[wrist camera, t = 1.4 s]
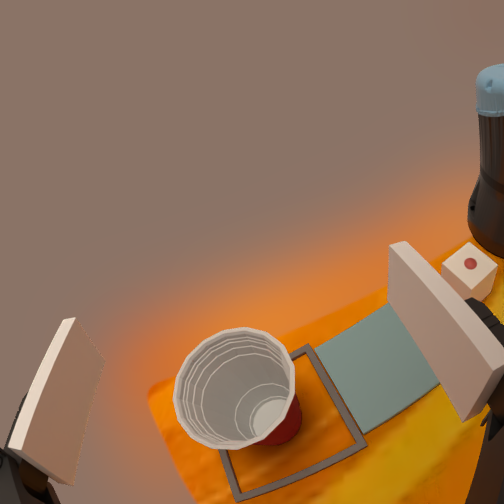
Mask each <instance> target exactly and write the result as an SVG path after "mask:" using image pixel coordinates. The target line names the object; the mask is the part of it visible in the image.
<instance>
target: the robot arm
mask: <svg viewBox="0 0 504 504" xmlns="http://www.w3.org/2000/svg"><path fill="white" fill-rule="evenodd" d="M476 96H477V103H476V111H477V112H478V117H479V131H480V175H479V177H478V180H477V182H476V185H475V188H474V190H473V193H472V195H471V198H470V200H469V205H468V225H469V228H470V230H471V233H472V235H473V236H474V238H475V239H476V240H477V241H478V242H479V243H480V244H481V245H482V246H483V247H484V248H485V249H487V250H488V251H490V252H492V253H493V254H495V255H497V256H500V257H502V258H504V64H498V65H494V66H490V67H488V68H486V69H484V70H483V71H481V72H480V73H479V74H478V76H477V78H476ZM387 300H388V302H389V303H390V305H391V306H392V308H393V309H394V311H395V312H396V314H397V315H398V317H399V318H400V320H401V321H402V323H403V324H404V326H405V327H406V329H407V330H408V332H409V333H410V335H411V336H412V338H413V340H414V341H415V343H416V344H417V346H418V347H419V349H420V351H421V352H422V354H423V355H424V357H425V359H426V360H427V362H428V363H429V365H430V367H431V368H432V370H433V372H434V373H435V375H436V377H437V378H438V380H439V382H440V383H441V385H442V387H443V389H444V390H445V392H446V394H447V395H448V397H449V399H450V401H451V402H452V404H453V406H454V408H455V410H456V411H457V413H458V415H459V417H460V419H461V421H462V422H465V421H467V420H468V419H470V418H472V417H474V416H475V415H477V414H479V413H480V412H481V411H482V410H483V408H484V407H485V405H486V403H488V405H489V407H490V408H491V409H490V411H489V412H488V414H487V415H486V416H485V418H484V419H483V421H482V423H481V425H480V426H484V424H485V423H486V422H487V425H486V430H485V435H484V439H483V444H482V448H481V452H480V456H479V460H478V464H477V467H476V471H475V474H474V478H473V481H472V484H471V487H470V490H469V493H468V496H467V499H466V502H465V504H504V325H503V324H502V323H501V324H500V321H499V320H498V319H497V317H496V316H493V313H492V312H491V311H490V310H489V309H488V307H487V306H486V305H485V304H484V303H482V302H480V301H478V300H476V299H475V298H473V297H471V298H469V299H466V300H463V299H462V298H461V297H460V296H459V295H458V293H457V292H456V291H455V290H454V289H453V288H452V287H451V286H450V285H449V284H448V283H447V282H446V281H445V280H444V279H443V278H442V277H441V275H440V274H439V273H438V272H437V271H436V270H435V269H434V268H433V267H432V266H431V265H430V264H429V263H428V262H427V261H426V260H425V259H423V257H422V256H421V255H420V254H419V253H417V251H416V250H415V249H413V248H412V247H411V246H410V245H409V244H408V243H407V242H406V241H403V242H399V243H395V244H392V245H389V273H388V295H387ZM104 363H105V360H104V358H103V357H102V356H101V354H100V353H99V351H98V350H97V349H96V347H95V346H94V344H93V343H92V341H91V340H90V338H89V337H88V335H87V334H86V332H85V331H84V329H83V328H82V326H81V324H80V323H79V321H78V320H77V318H76V317H75V318H70V319H64V320H63V321H62V323H61V325H60V327H59V329H58V331H57V333H56V335H55V337H54V339H53V341H52V343H51V345H50V347H49V349H48V351H47V353H46V355H45V357H44V359H43V361H42V363H41V365H40V367H39V369H38V372H37V374H36V376H35V378H34V381H33V383H32V385H31V387H30V390H29V391H28V392H27V394H26V395H25V396H24V398H23V399H22V402H21V404H20V407H19V411H18V412H17V414H16V419H14V422H13V425H12V427H11V430H10V433H9V436H8V438H7V442H6V444H5V447H4V449H1V448H0V504H61V503H60V501H59V499H58V497H57V495H56V493H55V490H54V488H53V486H52V485H51V484H50V483H49V482H47V481H48V477H50V478H52V479H53V480H55V481H56V482H58V483H61V484H65V485H70V486H73V484H74V480H75V475H76V470H77V465H78V460H79V456H80V451H81V446H82V442H83V438H84V434H85V430H86V426H87V422H88V418H89V414H90V411H91V407H92V404H93V400H94V396H95V393H96V389H97V386H98V383H99V379H100V376H101V373H102V370H103V367H104Z"/></svg>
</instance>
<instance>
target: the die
mask: <svg viewBox="0 0 504 504" xmlns="http://www.w3.org/2000/svg"><path fill="white" fill-rule="evenodd" d="M497 267H498V265H497V264H496V263H495V262H494V261H493V260H491V259H490V258H489V257H488V256H486V255H485V254H484V253H483V252H481V251H480V250H479V249H478V248H476V247H475V246H474V245H473V244H471V243H470V242H468V243H467V244H465V245H464V246H463V247H462V248H460V249H459V250H458V251H457V252H456V253H454V254H453V255H452V256H450V257H449V258H448V259H447V260H445V261H444V262H443V263H442V270H441V277H442V278H443V279H444V280H445V281H446V282H447V283H448V284H449V285H450V286H451V287H452V288H453V289H454V290H455V291H456V292H457V293H458V295H459V296H460V297H461V298H462V299H463V300H466V299H469V298H471V297H473V298H475V299H476V300H478V301H480V302H481V301H482V300H483V299H484V298H485V297H486V296H488V295H489V294H490V293H491V290H492V286H493V282H494V279H495V275H496V271H497Z"/></svg>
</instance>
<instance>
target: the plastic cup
mask: <svg viewBox="0 0 504 504" xmlns="http://www.w3.org/2000/svg"><path fill="white" fill-rule="evenodd" d="M173 402H174V406H175V411H176V415H177V420H178V421H179V423H180V424H181V425H182V427H183V428H184V429H185V431H186V432H187V433H188V435H189V436H190V437H191V438H192V439H194V440H196V441H198V442H200V443H202V444H204V445H205V446H207V447H209V448H211V449H231V450H238V449H241V448H243V447H246V446H248V445H251V444H252V445H280V444H282V443H285V442H287V441H289V440H290V439H291V438H293V437H294V436H295V435H296V434H297V432H298V430H299V428H300V425H301V410H300V407H299V401H298V399H297V396H296V393H295V366H294V364H293V362H292V360H291V358H290V356H289V354H288V352H287V350H286V348H285V346H284V345H283V344H282V343H280V342H279V341H278V340H276V339H275V338H274V337H273V336H271V335H270V334H269V333H267V332H265V331H261V330H256V329H252V328H247V327H241V328H235V329H228V330H223V331H221V332H219V333H217V334H215V335H213V336H211V337H210V338H208V339H205V340H203V341H202V342H201V343H200V344H199V345H198V346H197V347H196V348H195V349H194V350H193V351H192V352H191V353H190V354H189V355H188V356H187V357H186V359H185V361H184V363H183V365H182V367H181V369H180V371H179V373H178V374H177V376H176V381H175V388H174V394H173Z"/></svg>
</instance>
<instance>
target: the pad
mask: <svg viewBox="0 0 504 504" xmlns="http://www.w3.org/2000/svg"><path fill="white" fill-rule="evenodd" d="M314 350H315V352H316V354H317V355H318V357H319V359H320V361H321V362H322V364H323V366H324V367H325V369H326V371H327V373H328V374H329V376H330V378H331V379H332V381H333V383H334V385H335V386H336V388H337V390H338V391H339V393H340V395H341V397H342V398H343V400H344V402H345V403H346V405H347V407H348V409H349V410H350V412H351V414H352V415H353V417H354V419H355V421H356V422H357V424H358V426H359V428H360V429H361V431H362V433H363V434H364V435H365V434H367V433H368V432H370V431H372V430H373V429H375V428H377V427H378V426H380V425H381V424H383V423H385V422H386V421H388V420H389V419H391V418H392V417H394V416H396V415H397V414H399V413H400V412H402V411H403V410H405V409H406V408H407V407H409V406H410V405H412V404H413V403H415V402H416V401H417V400H419V399H420V398H422V397H423V396H424V395H426V394H427V393H428V392H430V391H431V390H432V389H434V388H435V387H436V386H437V385H439V384H440V382H439V380H438V378H437V377H436V375H435V373H434V372H433V370H432V368H431V367H430V365H429V363H428V362H427V360H426V359H425V357H424V355H423V354H422V352H421V351H420V349H419V347H418V346H417V344H416V343H415V341H414V340H413V338H412V336H411V335H410V333H409V332H408V330H407V329H406V327H405V326H404V324H403V323H402V321H401V320H400V318H399V317H398V315H397V314H396V312H395V311H394V309H393V308H392V306H391V305H390V303H387V304H386V305H384V306H383V307H381V308H380V309H378V310H377V311H375V312H374V313H372V314H371V315H369V316H367V317H366V318H364V319H363V320H361V321H360V322H358V323H356V324H355V325H353V326H352V327H350V328H348V329H347V330H345V331H344V332H342V333H340V334H339V335H337V336H335V337H334V338H332V339H330V340H329V341H327V342H325V343H323V344H322V345H320V346H318V347H316V348H315V349H314Z"/></svg>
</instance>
